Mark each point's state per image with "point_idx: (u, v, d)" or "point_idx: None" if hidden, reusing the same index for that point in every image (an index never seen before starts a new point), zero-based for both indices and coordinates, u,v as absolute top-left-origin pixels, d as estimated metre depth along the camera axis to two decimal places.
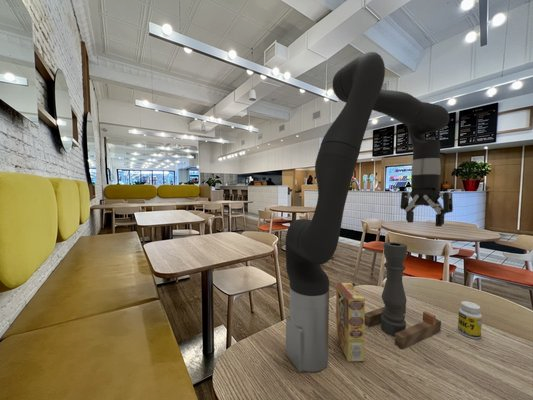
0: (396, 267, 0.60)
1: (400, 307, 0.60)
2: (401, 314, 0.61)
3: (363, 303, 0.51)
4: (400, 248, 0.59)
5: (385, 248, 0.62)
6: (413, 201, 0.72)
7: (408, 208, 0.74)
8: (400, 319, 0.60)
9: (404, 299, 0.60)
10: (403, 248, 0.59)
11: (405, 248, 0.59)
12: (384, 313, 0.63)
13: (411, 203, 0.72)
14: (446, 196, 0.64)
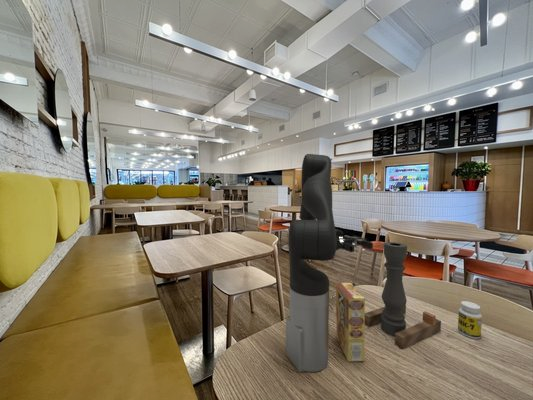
0: (396, 267, 0.60)
1: (400, 307, 0.60)
2: (401, 314, 0.61)
3: (363, 303, 0.51)
4: (400, 248, 0.59)
5: (385, 248, 0.62)
6: (341, 238, 0.78)
7: (342, 241, 0.75)
8: (400, 319, 0.60)
9: (404, 299, 0.60)
10: (403, 248, 0.59)
11: (405, 248, 0.59)
12: (384, 313, 0.63)
13: (341, 239, 0.77)
14: (355, 236, 0.83)
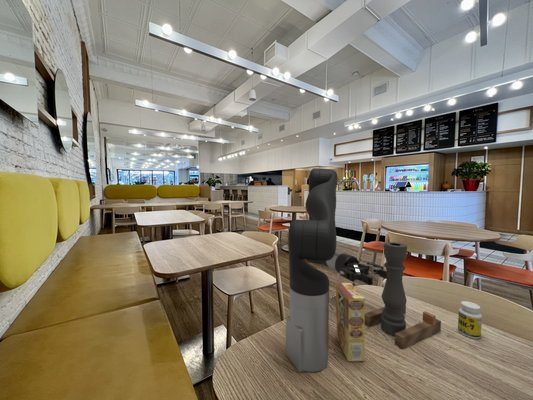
0: (396, 267, 0.60)
1: (400, 307, 0.60)
2: (401, 314, 0.61)
3: (363, 303, 0.51)
4: (400, 248, 0.59)
5: (385, 248, 0.62)
6: (356, 267, 0.71)
7: (358, 272, 0.68)
8: (400, 319, 0.60)
9: (404, 299, 0.60)
10: (403, 248, 0.59)
11: (405, 248, 0.59)
12: (384, 313, 0.63)
13: (356, 268, 0.70)
14: (371, 263, 0.77)
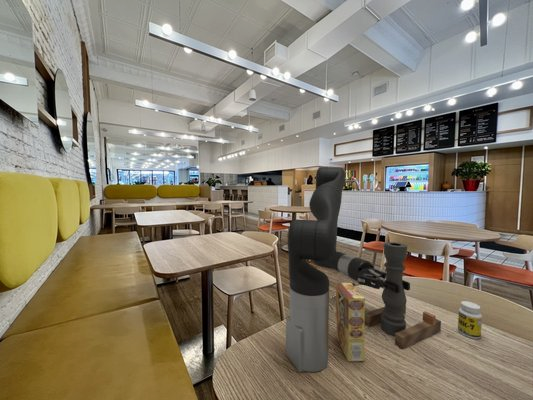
0: (397, 267, 0.60)
1: (400, 307, 0.60)
2: (401, 314, 0.61)
3: (363, 303, 0.51)
4: (400, 248, 0.59)
5: (385, 248, 0.62)
6: (375, 273, 0.66)
7: (383, 278, 0.63)
8: (400, 319, 0.60)
9: (404, 299, 0.60)
10: (403, 248, 0.59)
11: (405, 248, 0.59)
12: (384, 313, 0.63)
13: (377, 274, 0.65)
14: None
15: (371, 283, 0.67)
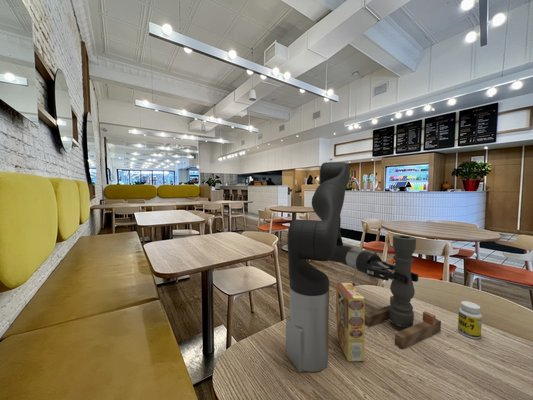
0: (406, 259, 0.61)
1: (409, 298, 0.62)
2: (409, 305, 0.63)
3: (363, 303, 0.51)
4: (409, 240, 0.61)
5: (394, 241, 0.63)
6: (383, 265, 0.68)
7: (392, 270, 0.65)
8: (408, 309, 0.62)
9: (412, 290, 0.62)
10: (412, 241, 0.61)
11: (414, 241, 0.61)
12: (392, 304, 0.64)
13: (385, 266, 0.67)
14: None
15: (379, 275, 0.69)
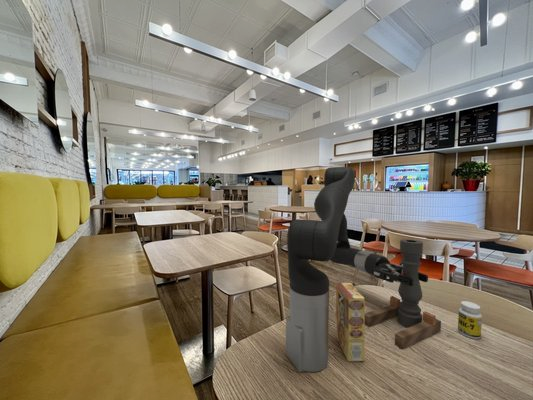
0: (413, 263, 0.64)
1: (416, 300, 0.63)
2: (417, 307, 0.64)
3: (363, 303, 0.51)
4: (416, 244, 0.63)
5: (402, 244, 0.66)
6: (391, 267, 0.69)
7: (397, 272, 0.66)
8: (416, 312, 0.64)
9: (420, 292, 0.64)
10: (419, 244, 0.63)
11: (421, 244, 0.63)
12: (401, 306, 0.66)
13: (392, 268, 0.69)
14: None
15: (387, 277, 0.70)
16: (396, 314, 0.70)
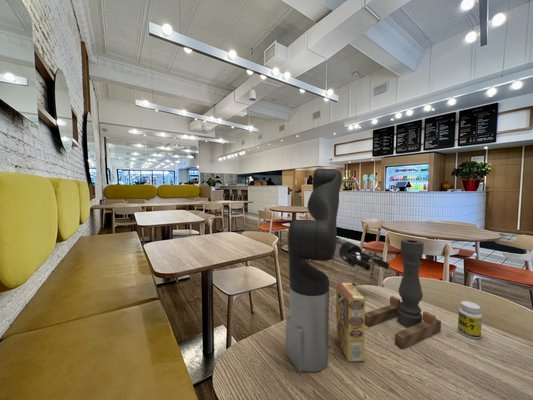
0: (413, 263, 0.63)
1: (417, 301, 0.63)
2: (417, 307, 0.64)
3: (363, 303, 0.51)
4: (417, 245, 0.63)
5: (402, 245, 0.65)
6: (358, 254, 0.80)
7: (359, 258, 0.77)
8: (417, 312, 0.64)
9: (421, 293, 0.64)
10: (420, 245, 0.63)
11: (422, 245, 0.63)
12: (401, 306, 0.66)
13: (358, 255, 0.79)
14: (372, 253, 0.85)
15: None
16: (396, 314, 0.70)
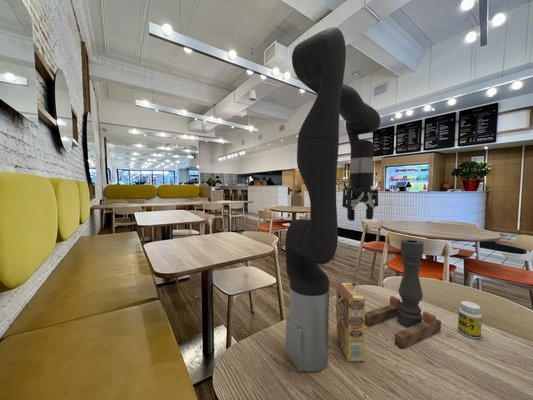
0: (413, 263, 0.63)
1: (417, 301, 0.63)
2: (417, 307, 0.64)
3: (363, 303, 0.51)
4: (417, 245, 0.62)
5: (402, 245, 0.65)
6: (359, 198, 0.72)
7: (354, 206, 0.72)
8: (417, 312, 0.64)
9: (420, 293, 0.64)
10: (420, 245, 0.63)
11: (422, 245, 0.63)
12: (401, 306, 0.66)
13: (358, 201, 0.72)
14: (377, 193, 0.76)
15: None
16: (396, 314, 0.70)
